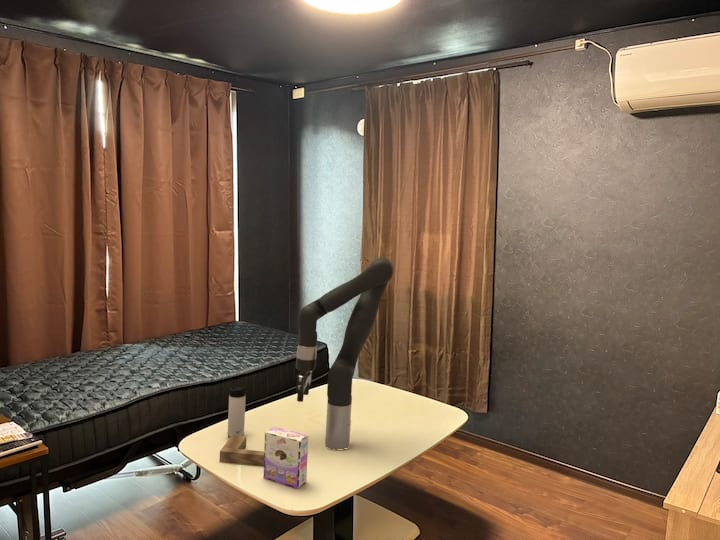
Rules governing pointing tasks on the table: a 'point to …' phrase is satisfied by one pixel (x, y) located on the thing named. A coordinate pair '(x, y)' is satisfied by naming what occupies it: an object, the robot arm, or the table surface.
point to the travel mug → (236, 411)
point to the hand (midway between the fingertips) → (302, 397)
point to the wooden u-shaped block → (240, 452)
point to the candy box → (285, 457)
